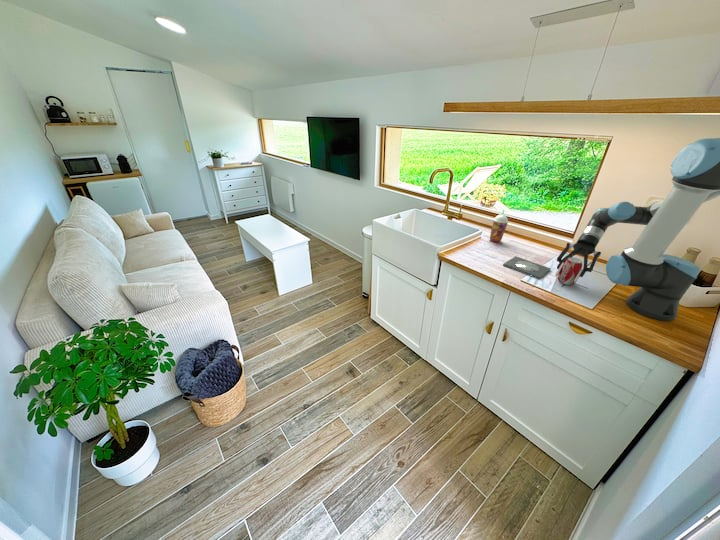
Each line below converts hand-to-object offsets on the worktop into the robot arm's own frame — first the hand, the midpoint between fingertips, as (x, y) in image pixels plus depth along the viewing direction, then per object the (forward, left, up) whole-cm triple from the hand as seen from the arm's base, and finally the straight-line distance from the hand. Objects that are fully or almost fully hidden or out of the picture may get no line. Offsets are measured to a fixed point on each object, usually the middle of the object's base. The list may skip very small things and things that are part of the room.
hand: (565, 278), depth 130 cm
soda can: (0, -4, -4) cm, 5 cm away
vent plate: (+18, -4, -3) cm, 19 cm away
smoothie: (+46, -27, -4) cm, 53 cm away
